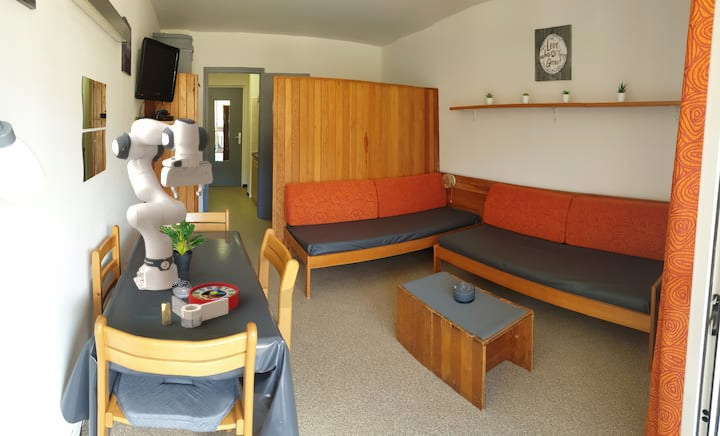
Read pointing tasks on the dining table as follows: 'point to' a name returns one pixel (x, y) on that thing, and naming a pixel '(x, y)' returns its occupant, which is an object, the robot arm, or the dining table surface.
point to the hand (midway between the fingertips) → (188, 196)
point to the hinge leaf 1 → (176, 308)
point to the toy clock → (214, 294)
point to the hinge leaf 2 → (205, 310)
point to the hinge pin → (166, 313)
